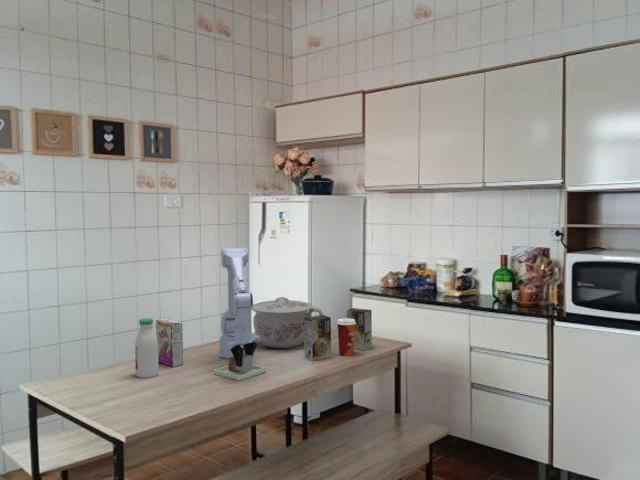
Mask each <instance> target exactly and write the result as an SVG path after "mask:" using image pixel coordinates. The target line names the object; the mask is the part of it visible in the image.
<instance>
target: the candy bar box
mask: <svg viewBox="0 0 640 480" xmlns="http://www.w3.org/2000/svg"><path fill="white" fill-rule="evenodd" d="M155 332H156V333H155V335H156V337H157V341H158V364H162V365H166V366H169V367H171V368H177V367H179V366H183V365H184V355H183V354H184V353H183V352H184V350H183V348H184V346H183V343H184V341H183V322H182V321H178V320H174V319H169V318H160V319H156V320H155Z"/></svg>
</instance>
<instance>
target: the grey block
mask: <svg viewBox="0 0 640 480" xmlns="http://www.w3.org/2000/svg"><path fill="white" fill-rule="evenodd" d="M252 365H253V358H252V355H248V354H245V353H244V354H243V357H242V367H238V366H236V370H238V371H242V372H246V371H249V370H252Z"/></svg>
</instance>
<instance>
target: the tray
mask: <svg viewBox="0 0 640 480" xmlns="http://www.w3.org/2000/svg"><path fill="white" fill-rule="evenodd" d="M266 372H267V368H266V367H265V366H260V365H255V364H252V370H249V371H246V372H242V371H241V372H238V373H235V372H231V371H229V364H228V365H225V366H221V367H219V368H214V369H213V375H215V376H218V377H223V378H227V379H230V380H234V381H237V382H241V381H244V380H247V379H251V378H253V377H257V376H259V375H262V374H266Z"/></svg>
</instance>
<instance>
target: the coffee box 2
mask: <svg viewBox="0 0 640 480" xmlns="http://www.w3.org/2000/svg"><path fill="white" fill-rule="evenodd" d="M346 318H351V319H354V320H355V322H356V324H355V336H354V350H360V351H367V350H369V349H372V348H373V345H372V344H373V343H372V341H373V339H372V337H373V336H372V331H373V329H372V325H373V324H372V323H373V321H372V309H366V308H355V307H352V308H350V309H346Z"/></svg>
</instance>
